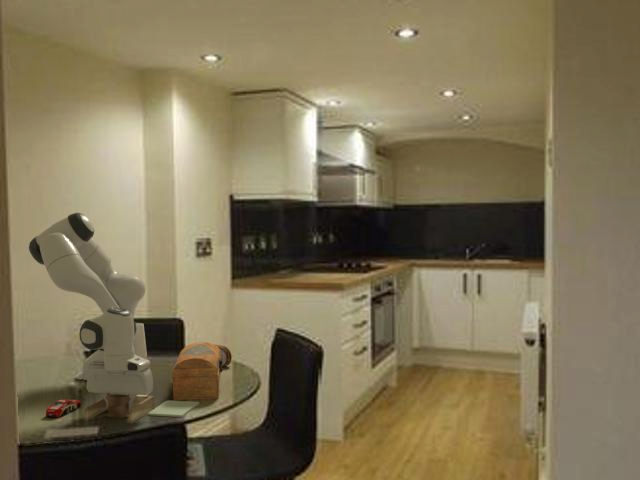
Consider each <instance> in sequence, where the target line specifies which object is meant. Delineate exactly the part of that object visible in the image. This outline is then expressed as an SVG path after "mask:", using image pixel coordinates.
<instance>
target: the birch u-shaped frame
mask: <svg viewBox="0 0 640 480" xmlns="http://www.w3.org/2000/svg"><path fill="white" fill-rule="evenodd" d="M111 395H113V394H112V393H110V395H109V396H111ZM153 409H155V396H154V395H146V396H143V395H137V397H136V399H135V400H134V402H133V407H132V408H131V409H129V415H128V424H134V423H135V422H137V421H138V420H139V419H142V417H144V416H145V415H148V413H149V412H150V411H152V410H153ZM105 411H108V408H107V407H106V401H105V400H104V398H103V397H101V398H99V399H97V400H95V401H94V402H92V403H91V402H90V403H89V404H88V405H86V406H84V421H86V422H88V421H90V420H91V419H94V418H95V417H97V416H99V415H100V414H102V413H104V412H105Z"/></svg>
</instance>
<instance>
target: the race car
mask: <svg viewBox="0 0 640 480" xmlns="http://www.w3.org/2000/svg"><path fill="white" fill-rule="evenodd" d="M81 407H82V403H81V401H80V400H78V399H59V400H56V401H54V402H53V403H52V404H50V405H49V406H48V407H46V410H45V417H53V418H59V417H65V416H66V415H68V414H69V413H71V412H73V411H76V410H79V409H81Z"/></svg>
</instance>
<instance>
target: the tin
mask: <svg viewBox="0 0 640 480" xmlns="http://www.w3.org/2000/svg"><path fill="white" fill-rule="evenodd" d="M212 344H213V343H212ZM213 345H215V346H217V347H218V348H219V349H220V351H221V359H220V360H222V361H223V363H222V365H221V368H224V367H227V366H229V365H230V364H231V362H232V359H233V358H232V357H233V356H232V353H231V351H230V349H229V347H226V346H225V345H218V344H213Z"/></svg>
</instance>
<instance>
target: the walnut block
mask: <svg viewBox="0 0 640 480" xmlns="http://www.w3.org/2000/svg"><path fill="white" fill-rule="evenodd" d="M130 399H131V398H130V397H129V394H113V395H111V396H109V397H108V410H107V417H108V418H116V419H117V418H119V419H121V418H122V419H124V418H126V417H128V416H129V409H127V408H126V403H128V402H129V401H130Z"/></svg>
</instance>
